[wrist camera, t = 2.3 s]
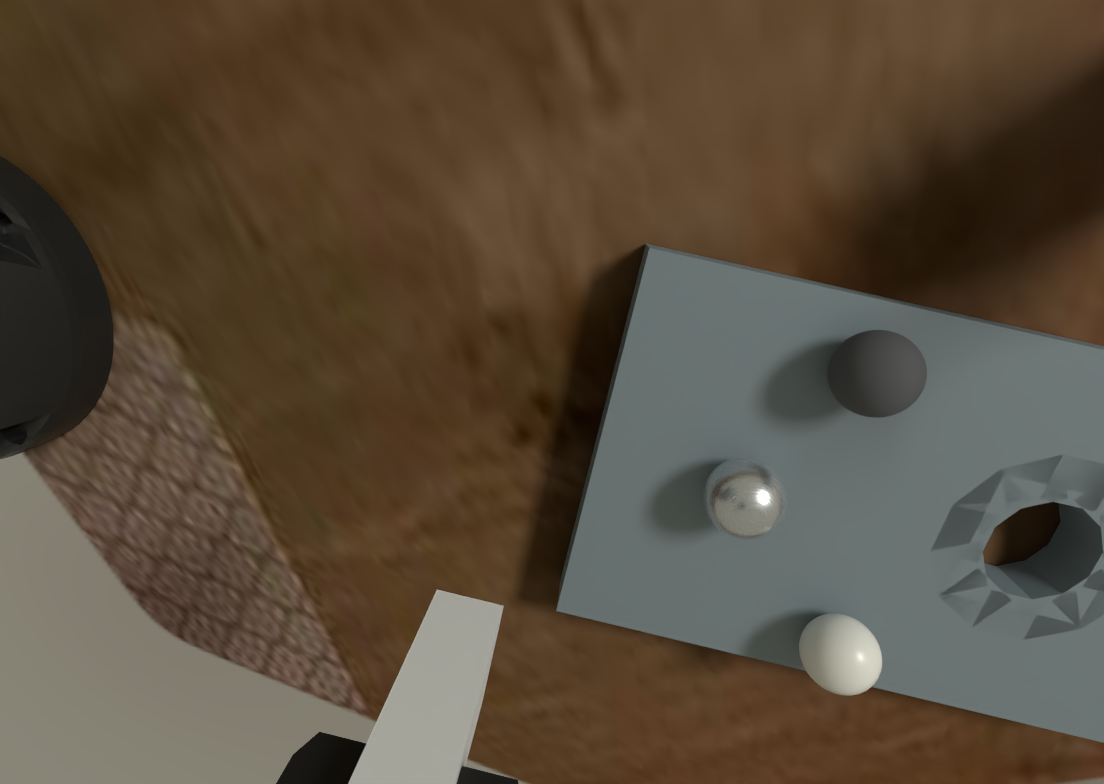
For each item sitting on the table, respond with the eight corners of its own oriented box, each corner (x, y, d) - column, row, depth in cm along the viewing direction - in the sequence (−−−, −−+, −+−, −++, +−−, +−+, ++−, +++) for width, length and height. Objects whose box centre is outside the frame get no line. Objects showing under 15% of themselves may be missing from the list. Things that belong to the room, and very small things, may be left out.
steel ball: (688, 504, 26) (699, 544, 23) (710, 437, 25) (724, 470, 22) (761, 521, 26) (781, 564, 23) (785, 455, 25) (810, 490, 22)
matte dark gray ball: (804, 391, 24) (832, 418, 21) (832, 314, 23) (865, 330, 20) (883, 409, 24) (922, 439, 21) (915, 332, 23) (961, 352, 20)
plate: (560, 579, 31) (556, 610, 28) (645, 243, 25) (649, 247, 23) (1069, 700, 30) (1108, 743, 28) (1266, 382, 25) (1335, 401, 22)
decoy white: (780, 647, 28) (801, 702, 25) (804, 590, 27) (828, 640, 24) (848, 664, 28) (878, 721, 25) (875, 607, 27) (908, 659, 24)
